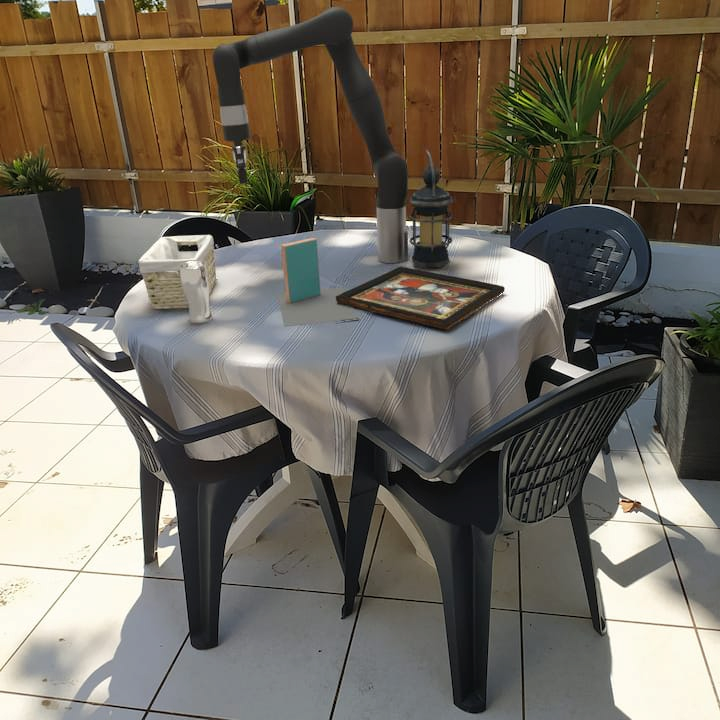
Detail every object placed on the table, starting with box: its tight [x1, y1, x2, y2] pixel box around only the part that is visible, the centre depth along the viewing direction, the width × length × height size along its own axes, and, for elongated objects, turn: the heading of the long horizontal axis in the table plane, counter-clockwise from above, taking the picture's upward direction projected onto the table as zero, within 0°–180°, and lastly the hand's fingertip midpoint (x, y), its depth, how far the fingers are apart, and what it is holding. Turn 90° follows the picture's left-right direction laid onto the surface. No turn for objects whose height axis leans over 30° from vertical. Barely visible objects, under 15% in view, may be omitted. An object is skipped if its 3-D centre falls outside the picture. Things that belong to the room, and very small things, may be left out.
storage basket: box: [138, 234, 218, 310], centre depth 186 cm, size 24×16×15 cm
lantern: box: [408, 149, 454, 269], centre depth 197 cm, size 14×13×35 cm
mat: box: [276, 287, 360, 327], centre depth 176 cm, size 19×24×1 cm
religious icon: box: [336, 266, 505, 330], centre depth 178 cm, size 38×35×3 cm
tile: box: [280, 237, 321, 303], centre depth 178 cm, size 2×10×16 cm, turn 126°
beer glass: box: [179, 261, 214, 325], centre depth 169 cm, size 7×7×15 cm
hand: (243, 180), depth 192 cm, fingers open, 8 cm apart
